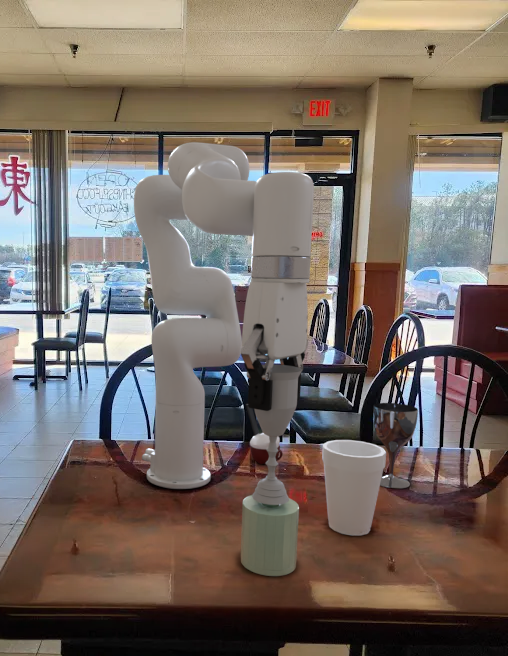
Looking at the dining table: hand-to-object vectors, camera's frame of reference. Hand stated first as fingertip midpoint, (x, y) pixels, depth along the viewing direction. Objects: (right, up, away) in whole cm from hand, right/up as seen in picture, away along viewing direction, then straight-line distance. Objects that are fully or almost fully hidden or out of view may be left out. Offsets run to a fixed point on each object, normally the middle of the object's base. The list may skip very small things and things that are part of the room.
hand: (274, 403), depth 77 cm
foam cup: (+15, -21, +15) cm, 30 cm away
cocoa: (+7, -17, +47) cm, 51 cm away
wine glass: (+30, -19, +36) cm, 50 cm away
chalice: (0, -13, +2) cm, 13 cm away
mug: (0, -22, +4) cm, 23 cm away
